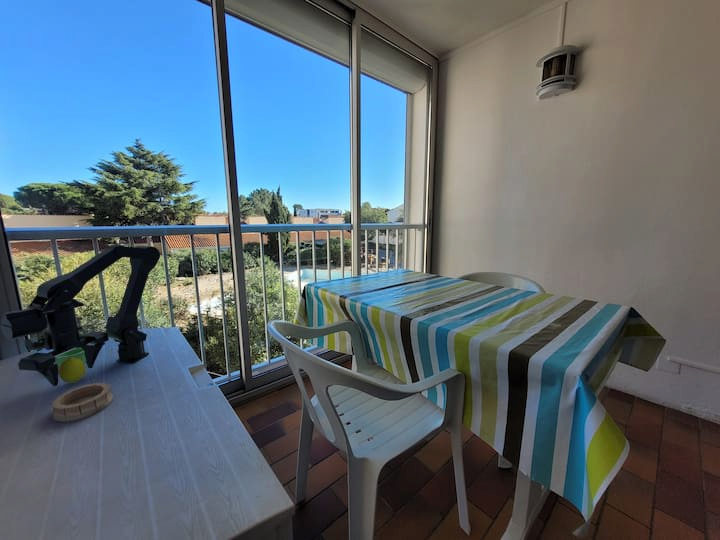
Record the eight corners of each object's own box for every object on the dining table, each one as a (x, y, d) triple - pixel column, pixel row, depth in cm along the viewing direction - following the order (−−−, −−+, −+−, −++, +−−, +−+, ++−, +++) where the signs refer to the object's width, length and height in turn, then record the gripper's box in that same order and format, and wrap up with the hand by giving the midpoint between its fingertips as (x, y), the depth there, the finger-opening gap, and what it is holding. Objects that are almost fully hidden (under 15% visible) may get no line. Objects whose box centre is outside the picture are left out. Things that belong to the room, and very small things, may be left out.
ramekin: (45, 371, 89) (42, 358, 88) (67, 357, 97) (64, 345, 97) (80, 368, 91) (77, 355, 90) (98, 355, 99) (96, 343, 99)
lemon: (91, 380, 84) (87, 355, 83) (66, 390, 79) (61, 364, 78) (82, 375, 87) (77, 351, 85) (57, 385, 82) (51, 359, 80)
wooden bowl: (88, 391, 79) (86, 380, 78) (124, 394, 77) (122, 383, 77) (38, 420, 68) (35, 407, 67) (80, 424, 66) (77, 411, 66)
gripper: (74, 313, 90) (83, 358, 93) (-7, 338, 71) (7, 394, 74) (106, 314, 88) (114, 360, 91) (31, 340, 70) (44, 397, 73)
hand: (73, 376), depth 83 cm, fingers open, 9 cm apart
